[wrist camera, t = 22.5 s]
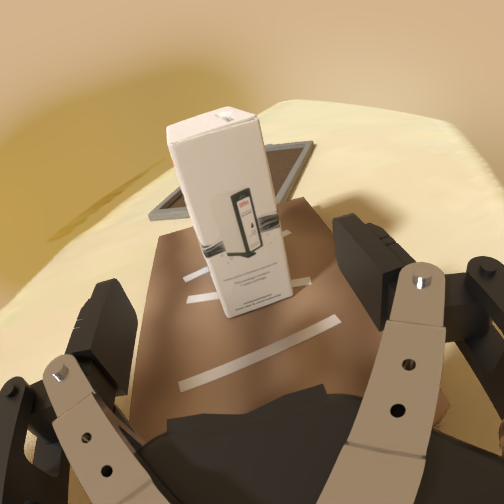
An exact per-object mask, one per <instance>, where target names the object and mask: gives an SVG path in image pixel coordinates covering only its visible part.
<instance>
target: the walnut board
mask: <svg viewBox="0 0 504 504" xmlns="http://www.w3.org/2000/svg"><path fill="white" fill-rule="evenodd" d="M277 208H278V213H279V219H280V224H281V229H282V234H283V239H284V245H285V250H286V256H287V261H288V267H289V272H290V278H291V283H292V288H293V296H291V297H288V298H285V299H282V300H280V301H277V302H274V303H272V304H269V305H266V306H263V307H260V308H258V309H255V310H251V311H249V312H246V313H243V314H240V315H237V316H235V317H232V318H227V316H226V315H225V312H224V310H223V307H222V304H221V301H220V299H219V296H218V293H217V291H216V288H215V285H214V283H213V280H212V277H211V275H210V272H209V269H208V267H207V264H206V261H205V259H204V256H203V253H202V250H201V248H200V245H199V242H198V239H197V236H196V233H195V230H194V227H190V228H187V229H183V230H180V231H176V232H173V233H170V234H166V235H163V236H159V239H158V244H157V248H156V253H155V257H154V262H153V267H152V272H151V277H150V282H149V287H148V292H147V297H146V303H145V308H144V314H143V320H142V326H141V332H140V338H139V345H138V351H137V358H136V366H135V373H134V381H133V389H132V398H131V407H130V417H129V422H130V424H131V425H132V426H133V428H134V429H135V430H136V431H137V433H138V434H139V435H140V436H141V438H142V439H143V440H144V441H145V442H146V443H147V442H148V441H149V440H151V439H152V438H154V437H155V436H157V435H159V434H161V433H163V432H165V431H167V419H172V418H179V417H185V416H191V415H197V414H202V413H206V414H246V413H248V412H250V411H253V410H255V409H257V408H259V407H261V406H263V405H265V404H267V403H269V402H271V401H273V400H275V399H277V398H279V397H281V396H283V395H286V394H289V393H293V392H296V391H300V390H303V389H307V388H310V387H313V386H316V385H320V384H324V387H325V390H326V392H327V394H333V393H340V394H352V395H357V396H362V397H364V394H365V391H366V388H367V385H368V382H369V379H370V376H371V373H372V370H373V366H374V363H375V360H376V356H377V353H378V350H379V346H380V342H381V339H382V335H383V331H384V330H383V331H381V332H379V331H378V329H377V327H376V326H375V324H374V323H373V321H372V319H371V318H370V316H369V315H368V313H367V311H366V310H365V308H364V307H363V305H362V304H361V302H360V300H359V299H358V297H357V296H356V294H355V293H354V291H353V290H352V288H351V287H350V285H349V283H348V282H347V280H346V279H345V277H344V276H343V274H342V273H341V271H340V269H339V267H338V264H337V260H336V254H335V243H334V235H333V233H332V232H331V231H330V230H329V228H328V227H327V226H326V224H325V223H324V222H323V221H322V219H321V218H320V217H319V216H318V214H317V213H316V212H315V211H314V209H313V208H312V207H311V206H310V204H309V203H308V202H307V201H306V199H305V198H304V197H301V198H297V199H293V200H289V201H286V202H282V203H278V204H277ZM449 406H450V404H449V402H448V401H447V399H446V397H445V396H444V394H443V392H442V391H441V389H440V388H439V393H438V399H437V405H436V410H435V415H434V420H433V425H432V426H434V425H436V424H438V423H440V422H441V420H442V418H443V417H444V415H445V413H446V411H447V409H448V408H449Z"/></svg>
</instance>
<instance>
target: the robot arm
mask: <svg viewBox="0 0 504 504" xmlns="http://www.w3.org/2000/svg"><path fill="white" fill-rule="evenodd" d="M333 234H334V243H335V254H336V260H337V264H338V267H339V269H340V271H341V273H342V274H343V276H344V277H345V279H346V280H347V282H348V283H349V285H350V287H351V288H352V290H353V291H354V293H355V294H356V296H357V297H358V299H359V300H360V302H361V304H362V305H363V307H364V308H365V310H366V311H367V313H368V315H369V316H370V318H371V319H372V321H373V323H374V324H375V326H376V327H377V329H378V331H379V332H381V331H383V330H384V331H383V335H382V339H381V342H380V346H379V350H378V353H377V356H376V360H375V363H374V366H373V370H372V373H371V376H370V379H369V382H368V385H367V388H366V391H365V394H364V397H362V396H357V395H352V394H340V393H333V394H327V392H326V390H325V387H324V384H320V385H316V386H313V387H310V388H307V389H303V390H300V391H296V392H293V393H289V394H286V395H283V396H281V397H279V398H277V399H275V400H273V401H271V402H269V403H267V404H265V405H263V406H261V407H259V408H257V409H255V410H253V411H250V412H248V413H246V414H206V413H202V414H197V415H191V416H185V417H179V418H172V419H167V431H165V432H163V433H161V434H159V435H157V436H155V437H154V438H152V439H151V440H149V441H148V442H147V443H146V442H145V441H144V440H143V439H142V438H141V436H140V435H139V434H138V433H137V431H136V430H135V429H134V428H133V426H132V425H131V424H130V422H129V421H128V420H127V418H126V417H125V416H124V414H123V413H122V412H121V410H120V409H119V408H118V406H117V405H116V404H115V403H114V401H115V397H117V396H124V395H128V387H129V379H130V371H131V364H132V358H133V351H134V345H135V338H136V332H137V327H138V320H137V315H136V312H135V310H134V308H133V306H132V305H131V303H130V301H129V299H128V297H127V296H126V294H125V292H124V290H123V288H122V286H121V284H120V283H119V281H118V280H117V279H115V278H114V279H110V280H107V281H103V282H100V283H97V284H96V286H95V288H94V291H93V293H92V296H91V298H90V299H88V301H87V302H86V303H85V305H84V306H83V307H82V308H81V310H80V313H79V315H78V318H77V320H78V321H76V323H75V326H74V328H75V329H73V331H72V334H71V337H70V340H69V343H68V346H67V349H66V351H65V354H64V355H61V356H59V357H57V358H55V359H54V360H53V361H51V362H50V363H49V365H48V366H47V367H46V369H45V371H44V374H43V380H40V381H38V382H36V383H34V384H32V385H29V384H28V383H27V382H26V381H25V380H24V379H23V378H22V377H14V378H11V379H10V380H9V381H7V382H6V383H5V384H4V386H3V387H2V389H1V391H0V504H68V485H69V470H70V464H71V466H72V468H73V470H74V472H75V474H76V476H77V478H78V479H79V481H80V483H81V485H82V487H83V488H84V490H85V492H86V494H87V495H88V497H89V499H90V500H91V502H92V504H504V339H503V338H502V336H501V335H500V334H499V332H498V331H497V330H496V328H495V327H494V326H493V325H492V321H494V322H495V323H496V325H497V326H498V327H499V329H500V330H501V331H502V333H503V334H504V265H503V264H502V263H501V262H499V261H498V260H496V259H494V258H491V257H486V256H479V257H475V258H473V259H471V260H470V261H469V262H468V265H467V270H466V273H456V274H445V275H444V273H443V272H442V271H441V269H439V268H438V267H437V266H435V265H432V264H430V263H425V262H416V261H415V260H414V259H413V258H412V257H411V256H410V255H409V254H408V253H407V252H406V251H405V250H404V249H403V248H402V247H401V246H400V245H399V244H398V243H396V241H395V240H394V239H393V238H392V237H390V236H389V234H388V233H387V232H386V231H385V230H383V229H382V228H381V227H379V226H376V225H374V224H372V223H367V224H364V223H363V222H362V221H361V220H360V219H359V218H358V217H357V216H356V215H355V214H353V213H352V214H348V215H344V216H341V217H337V218H334V219H333ZM447 342H455V343H456V345H457V346H458V348H459V349H460V351H461V352H462V354H463V355H464V357H465V359H466V360H467V362H468V363H469V365H470V366H471V368H472V370H473V371H474V373H475V375H476V376H477V378H478V379H479V381H480V383H481V384H482V386H483V388H484V390H485V391H486V393H487V395H488V396H489V398H490V400H491V402H492V403H493V405H494V407H495V409H496V411H497V412H498V414H499V416H500V418H501V420H502V423H501V425H500V428H499V440H500V445H499V446H500V449H501V451H502V457H501V456H499V455H496V454H494V453H491V452H489V451H486V450H484V449H481V448H478V447H476V446H473V445H471V444H468V443H466V442H464V441H461V440H459V439H456V438H454V437H452V436H449V435H447V434H445V433H442V432H440V431H438V430H435V429H433V428H432V425H433V420H434V415H435V410H436V405H437V399H438V393H439V387H440V380H441V373H442V366H443V357H444V348H445V343H447ZM27 429H28V430H29V431H30V432H31V433H32V434H34V435H35V436H36V437H37V441H36V447H35V453H34V460H33V464H32V463H30V462H29V461H28V460H27V459H26V457H25V454H24V444H25V439H26V434H27Z"/></svg>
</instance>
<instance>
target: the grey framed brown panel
mask: <svg viewBox="0 0 504 504" xmlns="http://www.w3.org/2000/svg"><path fill="white" fill-rule="evenodd" d="M313 147H314V143H313V141H304V142H294V143H285V144H276V145H272V144H268V145H265V151H266V155H267V160H268V164H269V169H270V174H271V178H272V183H273V188H274V193H275V198H276V203H277V204H278V203H282V202H286V201H287V200H288V198H289V196H290V194H291V192H292V190H293V188H294V186H295V184H296V182H297V180H298V178H299V176H300V174H301V171H302V169H303V167H304V165H305V163H306V161H307V159H308V157H309V155H310V153H311V151H312V149H313ZM148 217H149V220H150V221H159V220H171V219H184V218H190V216H189V213H188V210H187V207H186V203H185V200H184V197H183V194H182V191H181V188H180V187H178V188H177V189H176V190H175V191H174V192H173V193H171V194H170V195H169V196H168V197H167V198H166V199H165V200H163V201H162V202H161V203H160V204H159V205H158V206H157V207H156V208H154V209H153V210H152V211H151V212H150V213H149V214H148Z"/></svg>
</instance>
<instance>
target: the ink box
mask: <svg viewBox="0 0 504 504" xmlns="http://www.w3.org/2000/svg"><path fill="white" fill-rule="evenodd" d="M167 144H168V148H169V151H170V154H171V158H172V161H173V164H174V168H175V171H176V174H177V178H178V181H179V184H180V188H181V191H182V194H183V197H184V200H185V203H186V207H187V210H188V213H189V216H190V219H191V222H192V224H193V227H194V230H195V233H196V236H197V239H198V242H199V245H200V248H201V250H202V253H203V256H204V259H205V261H206V264H207V267H208V269H209V272H210V275H211V277H212V280H213V283H214V285H215V288H216V291H217V293H218V296H219V299H220V301H221V304H222V307H223V310H224V312H225V315H226V316H227V318H232V317H235V316H237V315H240V314H243V313H246V312H249V311H251V310H255V309H258V308H260V307H263V306H266V305H269V304H272V303H274V302H277V301H280V300H282V299H285V298H288V297H291V296H293V288H292V283H291V278H290V272H289V267H288V261H287V256H286V250H285V245H284V239H283V234H282V229H281V224H280V219H279V213H278V208H277V203H276V198H275V193H274V188H273V183H272V178H271V174H270V169H269V164H268V160H267V155H266V151H265V146H264V142H263V137H262V132H261V127H260V123H259V119H258V118H257V116H256V115H255V114H252V113H248V112H245V111H242V110H239V109H236V108H232V107H230V106H229V107H223V108H220V109H217V110H214V111H211V112H207V113H204V114H201V115H198V116H195V117H192V118H189V119H187V120H184V121H181V122H178V123H175V124H172V125H169V126H168V127H167Z"/></svg>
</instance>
